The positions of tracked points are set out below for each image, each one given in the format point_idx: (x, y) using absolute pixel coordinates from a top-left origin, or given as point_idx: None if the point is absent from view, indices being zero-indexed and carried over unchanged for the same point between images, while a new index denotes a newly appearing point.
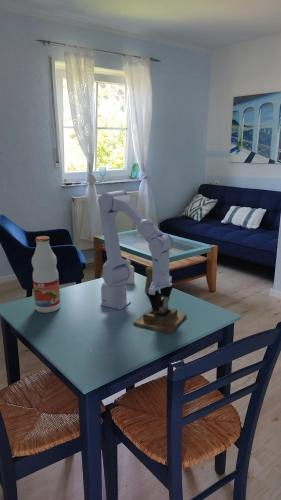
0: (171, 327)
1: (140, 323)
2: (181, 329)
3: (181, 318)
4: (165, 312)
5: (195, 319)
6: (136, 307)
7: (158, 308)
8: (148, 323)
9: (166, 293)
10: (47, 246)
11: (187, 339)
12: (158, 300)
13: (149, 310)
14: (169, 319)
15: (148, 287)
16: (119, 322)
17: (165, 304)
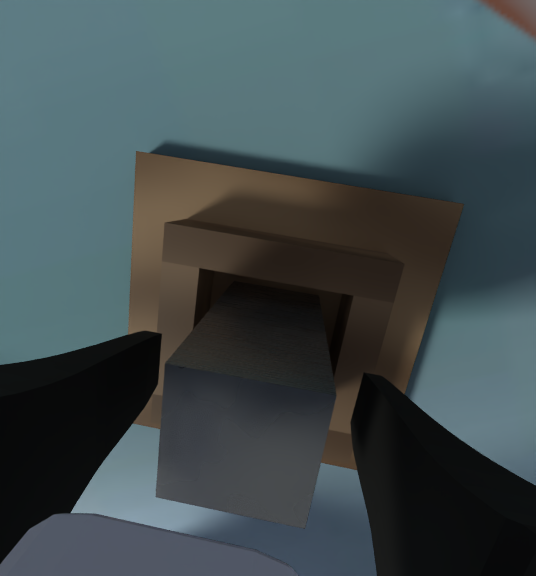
0: (398, 212)
1: None
2: (360, 138)
3: (218, 173)
4: (278, 308)
5: (156, 66)
6: (144, 494)
7: (399, 392)
8: None
9: (89, 408)
10: None
11: (524, 40)
12: (518, 485)
13: None
14: (342, 249)
15: None
16: (364, 533)
17: (273, 343)
